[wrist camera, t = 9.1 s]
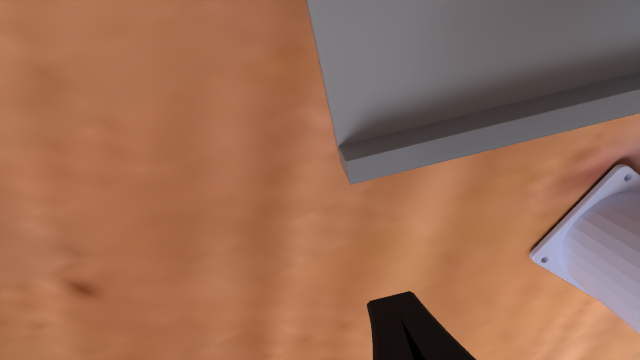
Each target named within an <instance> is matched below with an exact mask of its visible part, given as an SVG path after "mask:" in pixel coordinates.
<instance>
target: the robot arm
mask: <svg viewBox="0 0 640 360" xmlns="http://www.w3.org/2000/svg"><path fill="white" fill-rule="evenodd" d="M529 256H530V258H531V259H532V260H533V261H534V262H535V263H537V264H539V265H540V266H542V267H544V268H545V269H547V270H549V271H550V272H552V273H554V274H555V275H557V276H559V277H561V278H562V279H564V280H566V281H567V282H569V283H571V284H572V285H574V286H576V287H577V288H579V289H581V290H583V291H584V292H586V293H588V294H589V295H591V296H593V297H594V298H596V299H598V300H599V301H600V302H601V303H603V304H604V305H605V306H606V307H607V308H609V309H610V310H611V311H612V312H613V313H615V314H616V315H617V316H618V317H619V318H621V319H622V320H623V321H624V322H625V323H627V324H628V325H629V326H630V327H632V328H633V329H634V330H635V331H636V332H638V333H639V334H640V175H639V174H638V173H637V172H635V171H634V170H633V169H632V168H631V167H629V166H627V165H624V164H619V165H617V166H615V167H614V168H613V169H612V170H611V171H610V172H609V173H608V174H607V175H606V176H605V177H604V178H603V179H602V180H601V181H600V182H599V183H598V184H597V185H596V186H595V187H594V188H593V189H592V190H591V191H590V192H589V193H588V194H587V195H586V196H585V197H584V198H583V199H582V200H581V201H580V202H579V203H578V204H577V205H576V206H575V207H574V208H573V209H572V210H571V211H570V212H569V213H568V215H567V216H566V217H565V218H564V219H563V220H562V221H561V222H560V223H559V224H558V225H557V226H556V227H555V228H554V229H553V230H552V231H551V232H550V233H549V234H548V235H547V236H546V237H545V238H544V239H543V240H542V241H541V242H540V243H539V244H538V245H537V246H536V247H535V248H534V249H533V250H532V251H531V253H530V255H529ZM367 308H368V313H369V317H370V322H371V329H372V342H373V360H476V359H475V358H474V357H473V356H472V355H471V354H470V353H469V352H468V351H467V350H466V349H465V348H464V347H463V346H461V345H460V344H459V343H458V342H457V341H456V340H455V339H454V338H453V337H452V336H451V335H450V334H449V333H448V332H447V331H446V330H445V328H444V327H443V326H442V325H441V324H440V323H439V322H438V321H437V320H436V319H435V318H434V317H433V316H432V314H431V313H430V312H429V311H428V310H427V309H426V308H425V306H424V305H423V304H422V303H421V302H420V301H419V299H418V298H417V297H416V296H415V294H414V293H412V292H410V291H408V292H404V293H400V294H396V295H392V296H388V297H384V298H380V299H376V300H372V301H370V302H369V303H368V304H367Z"/></svg>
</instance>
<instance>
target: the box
mask: <svg viewBox="0 0 640 360" xmlns="http://www.w3.org/2000/svg"><path fill="white" fill-rule="evenodd" d="M306 2H307V6H308V11H309V16H310V20H311V25H312V30H313V35H314V39H315V44H316V49H317V54H318V58H319V63H320V68H321V72H322V77H323V82H324V87H325V91H326V96H327V101H328V106H329V110H330V115H331V120H332V124H333V129H334V134H335V139H336V143H337V148H338V153H339V157H340V162H341V165H342V167H343V169H344V171H345V174H346V176H347V178H348V180H349V182H350V185H351V184H355V183H359V182H363V181H367V180H371V179H375V178H379V177H383V176H387V175H391V174H395V173H399V172H403V171H407V170H411V169H415V168H419V167H424V166H428V165H432V164H436V163H440V162H444V161H448V160H452V159H456V158H460V157H464V156H468V155H472V154H476V153H480V152H484V151H488V150H492V149H496V148H500V147H504V146H508V145H513V144H517V143H521V142H525V141H529V140H533V139H537V138H541V137H545V136H549V135H553V134H557V133H561V132H565V131H569V130H573V129H577V128H581V127H585V126H589V125H593V124H598V123H602V122H606V121H610V120H614V119H618V118H622V117H626V116H630V115H634V114H638V113H640V0H306Z"/></svg>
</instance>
